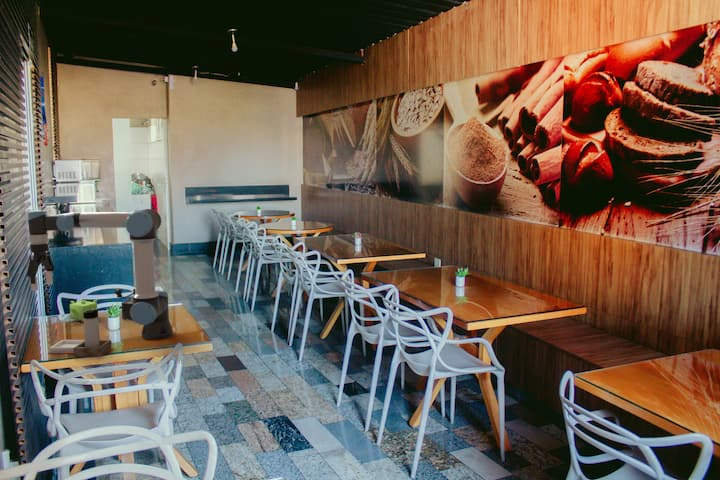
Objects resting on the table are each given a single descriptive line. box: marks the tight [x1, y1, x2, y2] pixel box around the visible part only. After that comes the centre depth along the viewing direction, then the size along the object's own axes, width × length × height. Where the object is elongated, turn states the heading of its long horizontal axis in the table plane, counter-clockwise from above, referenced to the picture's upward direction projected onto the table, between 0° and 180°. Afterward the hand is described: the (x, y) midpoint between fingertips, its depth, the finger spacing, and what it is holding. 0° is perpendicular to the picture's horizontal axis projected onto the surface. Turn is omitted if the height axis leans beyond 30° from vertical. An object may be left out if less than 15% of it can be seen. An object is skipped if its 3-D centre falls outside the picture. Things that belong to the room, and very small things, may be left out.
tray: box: [48, 339, 85, 354], centre depth 274 cm, size 12×12×2 cm
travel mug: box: [83, 309, 101, 347], centre depth 268 cm, size 6×7×20 cm
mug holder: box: [73, 339, 113, 358], centre depth 269 cm, size 12×12×4 cm
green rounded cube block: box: [69, 299, 98, 323], centre depth 323 cm, size 15×14×11 cm
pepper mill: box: [114, 288, 136, 321], centre depth 326 cm, size 16×11×18 cm
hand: (42, 287), depth 278 cm, fingers open, 13 cm apart
